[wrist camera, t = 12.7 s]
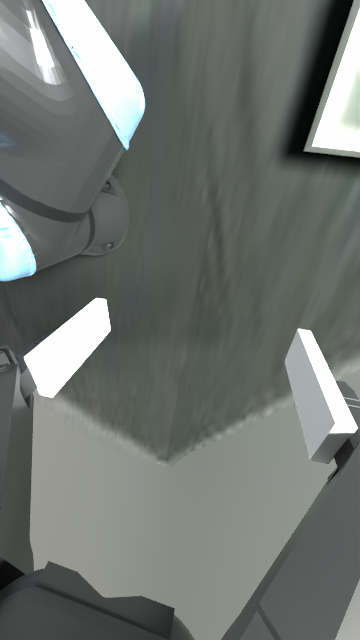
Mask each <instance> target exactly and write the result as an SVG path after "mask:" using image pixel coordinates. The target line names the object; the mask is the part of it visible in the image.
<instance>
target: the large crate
mask: <svg viewBox="0 0 360 640" xmlns="http://www.w3.org/2000/svg"><path fill="white" fill-rule="evenodd" d="M304 151H306V152H315V153H323V154H332V155H341V156H350V157H358V158H360V0H354V1H353V4H352V7H351V10H350V13H349V16H348V19H347V22H346V25H345V28H344V31H343V34H342V37H341V40H340V43H339V46H338V49H337V52H336V55H335V58H334V61H333V64H332V67H331V70H330V73H329V76H328V79H327V82H326V85H325V88H324V91H323V94H322V97H321V100H320V103H319V106H318V109H317V112H316V115H315V118H314V121H313V124H312V127H311V130H310V133H309V136H308V139H307V142H306V145H305V148H304Z"/></svg>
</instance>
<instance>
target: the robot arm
mask: <svg viewBox="0 0 360 640" xmlns="http://www.w3.org/2000/svg"><path fill="white" fill-rule="evenodd" d="M144 108H145V99H144V94H143V90H142V87H141V85H140V83H139V81H138V80H137V78H136V77H135V75H134V73H133V72H132V70H131V69H130V67H129V66H128V64H127V63H126V61H125V60H124V58H123V57H122V55H121V54H120V52H119V51H118V49H117V48H116V46H115V45H114V43H113V42H112V40H111V39H110V37H109V36H108V34H107V33H106V32H105V30H104V29H103V27H102V26H101V24H100V23H99V21H98V20H97V18H96V17H95V15H94V14H93V13H92V11H91V10H90V8H89V7H88V5H87V4H86V2H85V1H84V0H0V281H11V280H14V279H18V278H22V277H27V276H31V275H33V274H34V273H35V272H37V271H40V270H42V269H45V268H47V267H49V266H52V265H54V264H56V263H59V262H61V261H64V260H66V259H68V258H71V257H73V256H75V255H78V254H83V255H94V256H97V255H104V254H107V253H109V252H111V251H113V250H115V249H117V248H118V247H119V246H120V245H121V244H122V243H123V242H124V240H125V239H126V237H127V234H128V231H129V227H130V208H129V204H128V200H127V197H126V195H125V192H124V190H123V188H122V187H121V185H120V184H119V182H118V181H117V179H116V178H115V177H114V176H113V175H112V174H111V173H112V171H113V169H114V168H115V166H116V164H117V163H118V161H119V159H120V158H121V156H122V154H123V153H124V151H125V150H126V151H127V150H128V148H129V141H130V139H131V137H132V135H133V133H134V132H135V130H136V128H137V126H138V124H139V122H140V120H141V118H142V116H143V113H144ZM110 331H111V330H110V323H109V316H108V309H107V302H106V299H100V298H96V299H94V300H93V301H92V302H91V303H90V304H88V305H87V306H86V307H85V308H83V309H82V310H81V311H80V312H78V313H77V314H76V315H75V316H74V317H72V318H71V319H70V320H69V321H67V322H66V323H65V324H64V325H62V326H61V327H60V328H59V329H58V330H56V329H54V330H52V331H50V332H48V333H46V334H44V335H43V336H42V337H41V338H39V340H37V341H35V342H34V344H32V345H30V346H29V347H28V348H27V349H25V350H24V351H23V352H21V353H20V354H19V355H18V356H16V357H15V355H14V353H13V351H12V348H10V347H8V346H0V640H195V639H194V638H193V636H192V635H191V633H190V632H189V630H188V629H187V628H186V626H185V625H184V624H183V623H182V621H180V620H179V619H178V618H177V617H176V616H175V615H174V608H172V607H169V606H166V605H164V604H161V603H158V602H156V601H153V600H151V599H148V598H145V597H142V596H133V597H116V598H104V597H102V596H101V595H100V594H99V593H98V592H97V591H96V590H95V589H94V588H93V587H92V586H91V585H90V584H89V583H88V582H87V581H86V580H85V579H84V578H83V577H82V576H81V575H80V574H79V573H78V572H76V571H73V570H71V569H68V568H65V567H63V566H60V565H57V564H55V563H52V562H48V563H47V565H46V567H45V569H40V570H36V571H34V566H33V565H34V564H33V553H32V549H31V545H30V535H29V533H30V500H31V498H30V497H31V467H32V433H33V401H34V397H33V394H32V392H33V391H34V390H35V389H36V388H37V389H38V391H39V394H40V395H43V396H47V397H51V398H53V397H54V395H55V394H56V393H57V392H58V391H59V390H60V388H61V387H62V386H63V385H64V384H65V383H66V382H67V380H68V379H69V378H70V377H71V376H72V375H73V373H74V372H75V371H76V370H77V369H78V368H79V366H80V365H81V364H82V363H83V362H84V361H85V360H86V358H87V357H88V356H89V355H90V354H91V353H92V351H93V350H94V349H95V348H96V347H97V346H98V344H99V343H100V342H101V341H102V340H103V339H104V338H105V336H106V335H107V334H108V333H109V332H110ZM285 365H286V369H287V373H288V377H289V381H290V385H291V389H292V392H293V396H294V400H295V404H296V408H297V412H298V415H299V419H300V423H301V427H302V431H303V435H304V439H305V443H306V447H307V451H308V455H309V459H310V460H313V461H317V462H321V463H325V464H329V463H330V461H331V460H332V459H333V458H334V459H335V462H336V464H337V468H336V469H335V470H334V471H333V473H332V474H331V475H330V476H329V477H328V481H327V482H326V484H325V486H324V487H323V489H322V490H321V492H320V493H319V495H318V496H317V498H316V499H315V501H314V502H313V504H312V505H311V507H310V508H309V510H308V511H307V513H306V514H305V516H304V518H303V519H302V521H301V522H300V524H299V525H298V527H297V528H296V530H295V531H294V533H293V534H292V536H291V537H290V539H289V540H288V542H287V543H286V545H285V546H284V548H283V549H282V551H281V552H280V554H279V555H278V557H277V558H276V560H275V561H274V563H273V565H272V566H271V568H270V569H269V571H268V572H267V574H266V575H265V577H264V578H263V580H262V581H261V583H260V584H259V586H258V587H257V589H256V590H255V592H254V593H253V595H252V596H251V598H250V600H249V601H248V603H247V604H246V606H245V607H244V609H243V610H242V612H241V613H240V615H239V616H238V617H237V619H236V620H235V621H234V623H233V624H232V625H231V626H230V628H229V629H228V630H227V632H226V633H225V635H224V636H223V638H222V639H221V640H335V638H336V636H337V633H338V631H339V628H340V625H341V623H342V621H343V618H344V616H345V613H346V610H347V608H348V606H349V603H350V601H351V598H352V596H353V594H354V591H355V589H356V586H357V584H358V581H359V579H360V402H359V400H358V398H357V396H356V394H355V392H354V391H353V390H352V389H351V388H350V387H349V386H348V385H347V384H346V383H345V382H342V381H336V380H334V378H333V376H332V374H331V372H330V370H329V368H328V366H327V364H326V362H325V360H324V358H323V355H322V353H321V351H320V349H319V347H318V345H317V343H316V341H315V339H314V337H313V335H312V333H311V331H309V330H302V329H297V331H296V334H295V336H294V339H293V341H292V344H291V346H290V349H289V351H288V354H287V356H286V359H285Z"/></svg>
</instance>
